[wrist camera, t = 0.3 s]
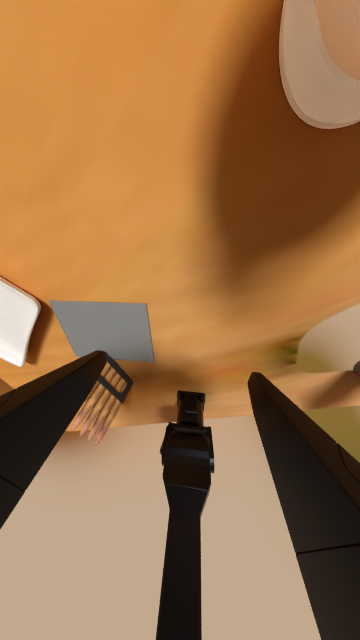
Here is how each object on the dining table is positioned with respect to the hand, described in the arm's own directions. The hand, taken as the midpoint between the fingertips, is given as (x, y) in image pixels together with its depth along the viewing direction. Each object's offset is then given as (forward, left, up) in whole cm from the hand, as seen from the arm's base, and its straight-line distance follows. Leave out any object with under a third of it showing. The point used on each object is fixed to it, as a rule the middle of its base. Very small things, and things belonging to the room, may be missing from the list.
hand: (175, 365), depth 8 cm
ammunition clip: (-18, +16, -14) cm, 28 cm away
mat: (-8, +16, -14) cm, 23 cm away
